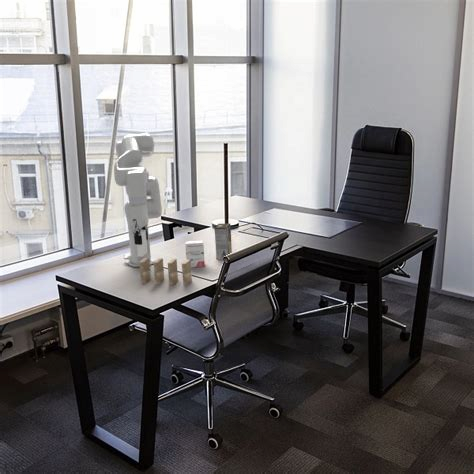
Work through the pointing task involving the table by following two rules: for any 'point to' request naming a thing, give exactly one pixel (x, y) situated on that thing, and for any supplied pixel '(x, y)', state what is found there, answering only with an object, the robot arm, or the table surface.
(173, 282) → the domino
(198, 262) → the ink box
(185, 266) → the domino
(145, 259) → the domino
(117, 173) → the robot arm
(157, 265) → the domino
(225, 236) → the coffee box
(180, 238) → the table surface
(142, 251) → the cream domino
